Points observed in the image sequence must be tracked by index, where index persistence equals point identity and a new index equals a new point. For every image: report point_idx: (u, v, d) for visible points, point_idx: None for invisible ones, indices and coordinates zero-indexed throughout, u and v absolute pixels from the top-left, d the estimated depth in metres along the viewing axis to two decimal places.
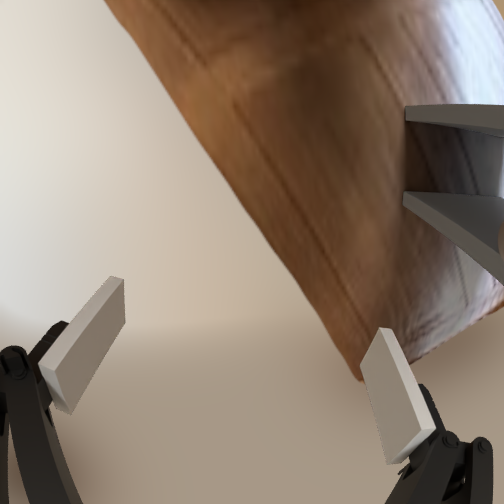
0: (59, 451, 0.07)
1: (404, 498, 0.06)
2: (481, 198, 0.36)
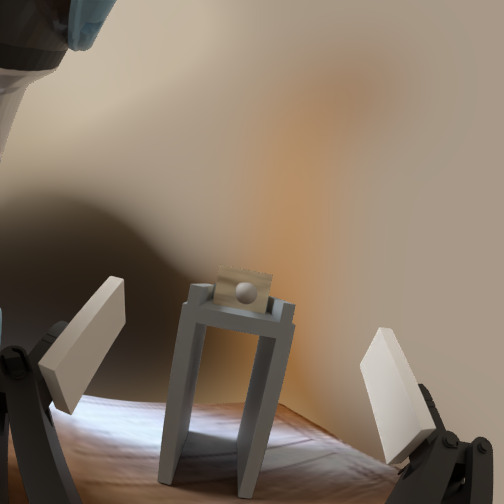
0: (59, 451, 0.07)
1: (404, 498, 0.06)
2: (239, 446, 0.48)
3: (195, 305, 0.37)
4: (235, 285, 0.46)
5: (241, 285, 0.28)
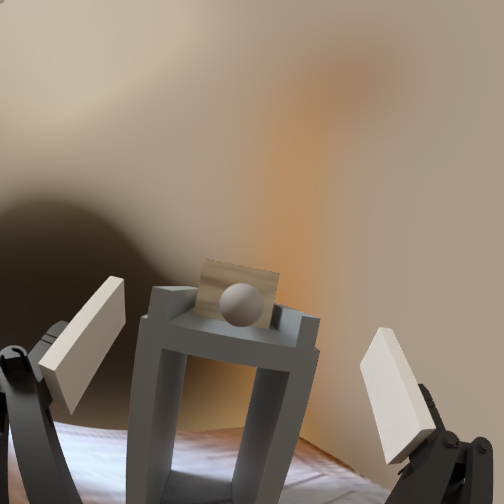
0: (59, 451, 0.07)
1: (404, 498, 0.06)
2: (234, 494, 0.33)
3: (160, 320, 0.22)
4: (226, 288, 0.32)
5: (231, 289, 0.14)
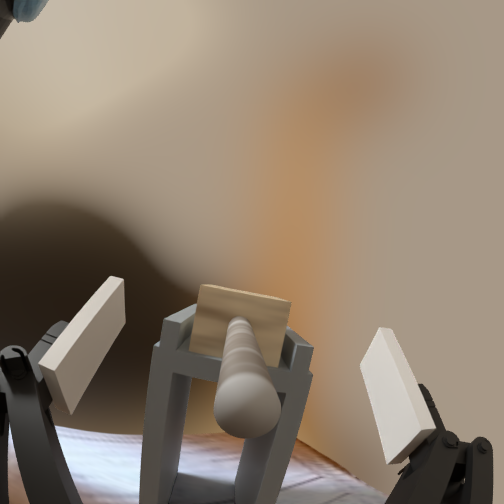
0: (59, 451, 0.07)
1: (404, 498, 0.06)
2: (237, 495, 0.36)
3: (171, 349, 0.25)
4: (227, 321, 0.26)
5: (231, 388, 0.08)
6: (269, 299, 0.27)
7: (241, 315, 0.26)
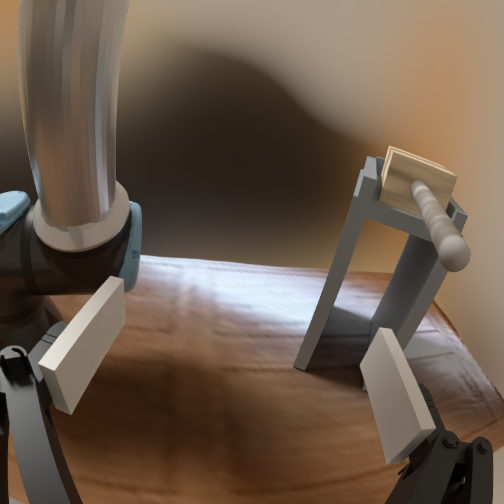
0: (59, 451, 0.07)
1: (404, 498, 0.06)
2: (374, 330, 0.53)
3: (367, 199, 0.32)
4: (410, 182, 0.30)
5: (451, 243, 0.14)
6: (442, 171, 0.28)
7: (421, 180, 0.29)
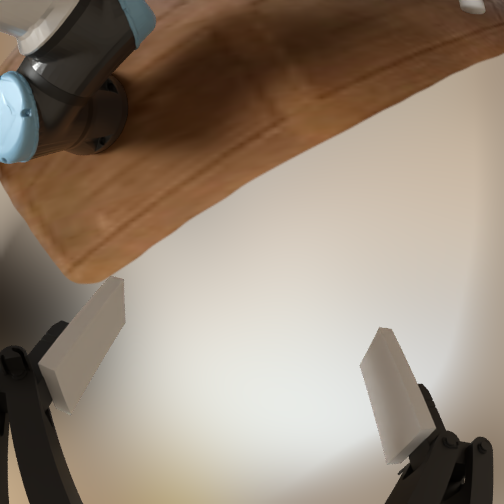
0: (59, 451, 0.07)
1: (404, 498, 0.06)
2: None
3: None
4: None
5: (471, 4, 0.11)
6: None
7: None
